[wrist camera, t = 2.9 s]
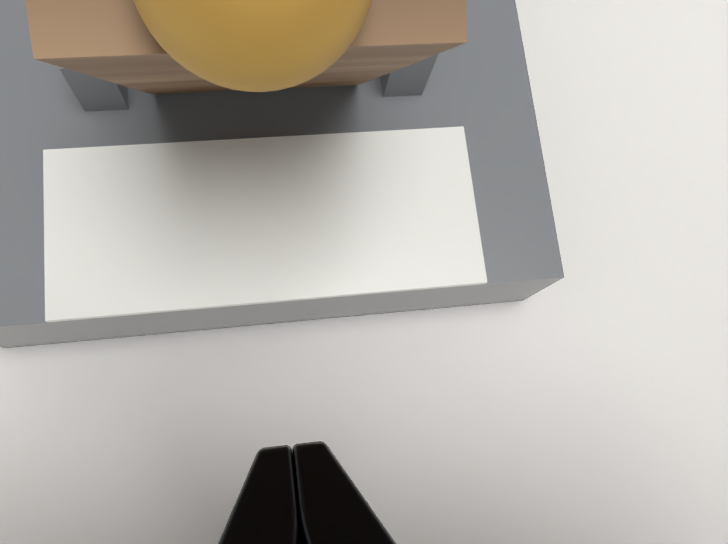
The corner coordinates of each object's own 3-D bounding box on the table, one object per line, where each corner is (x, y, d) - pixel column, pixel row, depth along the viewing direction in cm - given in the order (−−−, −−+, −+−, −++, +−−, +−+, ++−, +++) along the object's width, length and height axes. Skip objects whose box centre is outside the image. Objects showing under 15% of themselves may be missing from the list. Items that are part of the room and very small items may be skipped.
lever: (360, 105, 17) (525, 73, 7) (154, 115, 17) (-27, 98, 6) (354, -5, 17) (524, -231, 6) (142, 1, 16) (-83, -242, 5)
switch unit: (522, 300, 20) (600, 256, 15) (4, 347, 18) (-98, 315, 13) (459, -91, 23) (507, -233, 18) (5, -85, 21) (-79, -243, 16)
